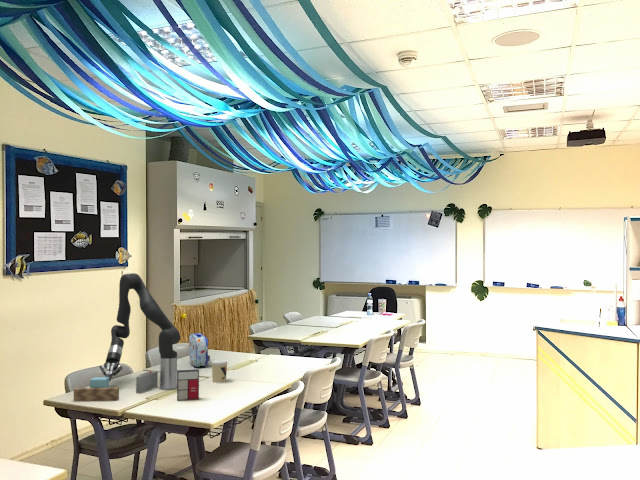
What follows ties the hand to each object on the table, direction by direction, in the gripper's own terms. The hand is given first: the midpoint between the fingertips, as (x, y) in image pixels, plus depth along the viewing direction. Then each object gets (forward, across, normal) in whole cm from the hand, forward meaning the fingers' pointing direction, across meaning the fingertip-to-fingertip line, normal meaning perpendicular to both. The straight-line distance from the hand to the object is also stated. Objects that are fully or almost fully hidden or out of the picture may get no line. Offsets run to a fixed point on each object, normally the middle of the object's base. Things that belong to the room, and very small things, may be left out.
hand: (107, 381), depth 301 cm
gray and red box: (+18, +47, -10) cm, 51 cm away
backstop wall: (+10, 0, -2) cm, 10 cm away
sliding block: (+13, 0, -6) cm, 14 cm away
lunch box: (-44, +40, +52) cm, 79 cm away
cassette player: (+3, +21, +5) cm, 22 cm away
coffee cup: (-10, +59, +18) cm, 62 cm away
